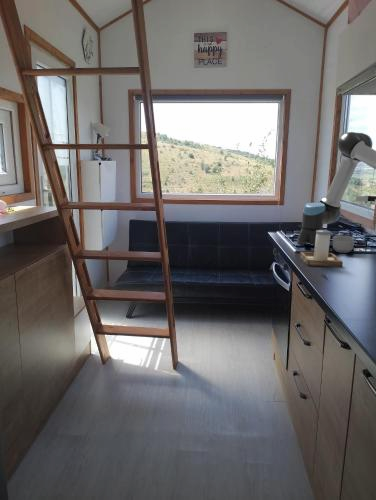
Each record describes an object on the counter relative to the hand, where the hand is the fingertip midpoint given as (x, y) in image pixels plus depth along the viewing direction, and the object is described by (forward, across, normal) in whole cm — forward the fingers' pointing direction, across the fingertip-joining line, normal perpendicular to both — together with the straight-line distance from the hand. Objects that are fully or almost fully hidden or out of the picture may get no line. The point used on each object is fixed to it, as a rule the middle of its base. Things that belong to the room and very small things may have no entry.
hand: (365, 200), depth 185 cm
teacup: (-5, +20, -30) cm, 37 cm away
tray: (+19, +2, -30) cm, 36 cm away
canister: (+19, +2, -29) cm, 35 cm away
